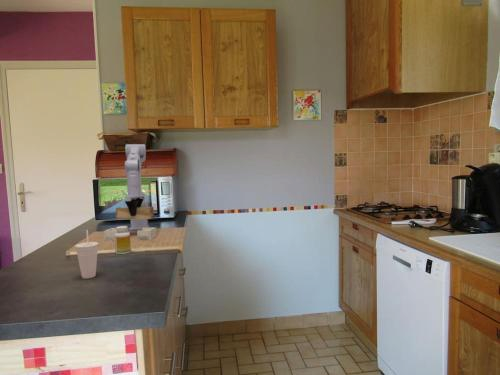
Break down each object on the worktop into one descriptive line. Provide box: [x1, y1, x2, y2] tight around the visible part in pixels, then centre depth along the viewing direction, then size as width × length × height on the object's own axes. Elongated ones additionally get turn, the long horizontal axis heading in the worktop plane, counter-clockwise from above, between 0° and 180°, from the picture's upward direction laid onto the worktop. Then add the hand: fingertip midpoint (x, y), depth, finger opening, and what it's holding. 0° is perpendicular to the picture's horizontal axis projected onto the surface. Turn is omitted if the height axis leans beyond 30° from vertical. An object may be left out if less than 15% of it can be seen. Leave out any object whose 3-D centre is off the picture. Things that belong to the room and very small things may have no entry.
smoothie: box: [74, 229, 100, 280], centre depth 102 cm, size 6×6×14 cm
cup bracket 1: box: [103, 227, 117, 241], centre depth 155 cm, size 7×6×4 cm
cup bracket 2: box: [136, 227, 157, 241], centre depth 154 cm, size 7×6×4 cm
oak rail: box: [115, 206, 155, 220], centre depth 160 cm, size 4×16×5 cm, turn 87°
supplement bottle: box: [114, 225, 132, 255], centre depth 130 cm, size 5×5×10 cm
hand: (135, 215), depth 160 cm, fingers closed on oak rail, 4 cm apart
